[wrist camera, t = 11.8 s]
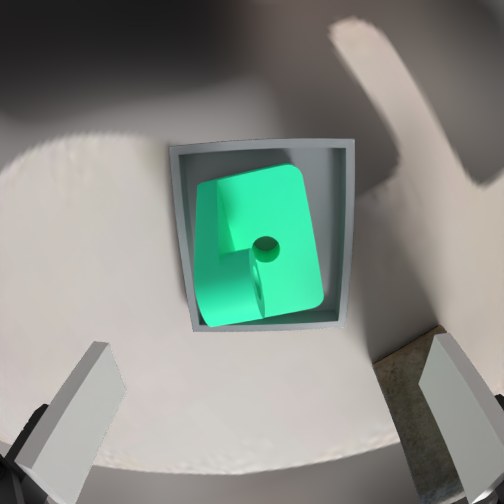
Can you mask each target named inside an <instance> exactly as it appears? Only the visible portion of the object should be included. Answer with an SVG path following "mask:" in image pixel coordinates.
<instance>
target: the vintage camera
mask: <svg viewBox="0 0 504 504" xmlns="http://www.w3.org/2000/svg"><path fill="white" fill-rule="evenodd" d="M443 333H447V331H446V330H445V329H444V327H443V326H441V325H439V326H437V327H436V328H434V329H432V330H431V331H429V332H427V333H426V334H424V335H423V336H421V337H419V338H418V339H416V340H414V341H413V342H411V343H409V344H408V345H406V346H404V347H403V348H401V349H399V350H398V351H396V352H394V353H392V354H391V355H389V356H387V357H385V358H384V359H382V360H380V361H378V362H377V363H375V364H373V365H372V367H373V370H374V372H375V375H376V377H377V380H378V383H379V385H380V388H381V390H382V393H383V395H384V398H385V400H386V403H387V405H388V408H389V411H390V414H391V416H392V419H393V422H394V424H395V427H396V430H397V432H398V435H399V438H400V441H401V444H402V447H403V450H404V453H405V457H406V460H407V463H408V466H409V470H410V473H411V475H412V479H413V481H414V484H415V488H416V491H417V494H418V496H419V499H420V502H421V504H455V503H456V501H457V500H459V499H461V498H463V497H465V496H466V493H465V491H464V488H463V485H462V483H461V480H460V477H459V475H458V472H457V470H456V467H455V465H454V462H453V460H452V457H451V455H450V452H449V450H448V448H447V445H446V443H445V440H444V438H443V436H442V434H441V431H440V429H439V427H438V424H437V422H436V420H435V418H434V416H433V413H432V411H431V409H430V407H429V405H428V403H427V401H426V398H425V396H424V394H423V392H422V390H421V388H420V386H419V381H420V378H421V376H422V373H423V370H424V367H425V364H426V361H427V358H428V355H429V352H430V349H431V345H432V342H433V339H434V335H437V334H443Z"/></svg>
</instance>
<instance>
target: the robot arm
mask: <svg viewBox="0 0 504 504" xmlns="http://www.w3.org/2000/svg"><path fill="white" fill-rule="evenodd" d="M419 386H420V388H421V390H422V392H423V394H424V396H425V398H426V401H427V403H428V405H429V407H430V409H431V411H432V413H433V416H434V418H435V420H436V422H437V424H438V427H439V429H440V431H441V434H442V436H443V438H444V440H445V443H446V445H447V448H448V450H449V452H450V455H451V457H452V460H453V462H454V465H455V467H456V470H457V472H458V475H459V477H460V480H461V483H462V485H463V488H464V491H465V493H466V496H467V499H468V502H469V504H472V503H475V502H477V501H479V500H481V499H483V498H486V497H487V496H488V495H489V494H490V493H491V492H492V491H493V490H494V489H495V490H496V492H497V495H495V496H494V497H493V498H492V499H491V500H490V501H489V502H488V503H487V504H504V396H502V395H501V394H498V395H495V396H494V395H493V394H492V392H491V390H490V389H489V387H488V386H487V384H486V383H485V381H484V380H483V378H482V377H481V376H480V374H479V373H478V371H477V370H476V368H475V367H474V365H473V364H472V363H471V361H470V360H469V358H468V357H467V355H466V354H465V353H464V351H463V350H462V349H461V347H460V346H459V344H458V343H457V342H456V340H455V339H454V338H453V336H452V335H451V334H450V332H449V333H443V334H437V335H434V339H433V342H432V345H431V349H430V352H429V355H428V358H427V361H426V364H425V367H424V370H423V373H422V376H421V378H420V381H419ZM126 391H127V389H126V387H125V384H124V382H123V379H122V377H121V374H120V372H119V369H118V366H117V364H116V361H115V358H114V356H113V353H112V350H111V347H110V344H109V343H106V342H96V341H94V342H93V343H92V345H91V346H90V347H89V349H88V350H87V352H86V353H85V354H84V356H83V357H82V358H81V360H80V361H79V363H78V364H77V365H76V367H75V368H74V370H73V371H72V373H71V374H70V375H69V377H68V378H67V380H66V381H65V383H64V384H63V385H62V387H61V388H60V390H59V391H58V393H57V394H56V396H55V397H54V399H53V400H52V402H51V403H50V405H47V404H43V405H42V406H41V407H39V408H38V409H37V410H35V411H34V413H33V414H32V416H31V417H30V419H29V420H28V423H26V425H25V426H24V428H23V429H24V430H22V431H21V433H20V434H19V436H18V437H17V439H16V440H15V442H14V444H13V445H12V447H11V448H10V450H9V452H8V453H7V455H6V456H5V458H3V457H2V455H1V454H0V504H49V503H48V501H47V500H46V498H47V496H48V495H49V496H50V497H51V498H52V499H53V500H54V501H56V502H57V503H59V504H75V503H76V500H77V498H78V496H79V494H80V491H81V489H82V486H83V484H84V482H85V479H86V477H87V475H88V473H89V470H90V468H91V466H92V464H93V461H94V459H95V457H96V455H97V452H98V450H99V448H100V446H101V444H102V441H103V439H104V437H105V435H106V433H107V431H108V429H109V426H110V424H111V422H112V420H113V418H114V416H115V414H116V412H117V410H118V407H119V405H120V403H121V401H122V399H123V397H124V395H125V393H126Z"/></svg>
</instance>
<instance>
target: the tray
mask: <svg viewBox="0 0 504 504" xmlns="http://www.w3.org/2000/svg"><path fill="white" fill-rule="evenodd" d="M169 155H170V166H171V177H172V187H173V196H174V206H175V214H176V223H177V231H178V238H179V246H180V253H181V260H182V267H183V274H184V281H185V287H186V293H187V300H188V306H189V312H190V317H191V323H192V329H193V332H248V331H283V330H306V329H323V328H338V327H345V324H346V315H347V306H348V296H349V285H350V274H351V260H352V245H353V226H354V197H355V140H354V139H339V138H284V139H255V140H238V141H224V142H223V141H222V142H210V143H199V144H189V145H179V146H172V147H169ZM283 163H290V164H293V165H294V166H296V167H297V168H298V169H299V170H300V172H301V173H302V176H303V181H304V186H305V191H306V196H307V201H308V206H309V211H310V217H311V222H312V227H313V233H314V239H315V244H316V250H317V256H318V262H319V268H320V274H321V281H322V287H323V294H324V298H323V301H322V303H321V304H320V305H319V306H317V307H315V308H312V309H307V310H302V311H297V312H292V313H286V314H281V315H276V316H271V317H265V318H263V319H257V320H251V321H246V322H240V323H234V324H228V325H221V326H215V327H210V326H209V325H208V324H207V323H206V322H205V320H204V318H203V316H202V314H201V312H200V309H199V306H198V302H197V298H196V293H195V286H194V250H195V222H196V200H197V186H198V185H199V184H200V183H202V182H206V181H209V180H213V179H217V178H221V177H225V176H230V175H234V174H238V173H242V172H246V171H251V170H255V169H260V168H264V167H269V166H273V165H278V164H283ZM254 244H255V246H256V247H257V248H258V249H260V250H263V251H269V250H272V249H273V248H275V247H276V246H277V244H278V242H277V240H275V239H274V238H272V237H269V236H262V237H260V238H258V239H256V240H255V242H254Z"/></svg>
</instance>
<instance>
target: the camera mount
mask: <svg viewBox="0 0 504 504" xmlns="http://www.w3.org/2000/svg"><path fill="white" fill-rule="evenodd" d="M262 236H269V237H272V238H274V239H275V240H277V242H278V244H277V246H276V247H275V248H273V249H272V250H269V251H263V250H260V249H258V248H257V247H256V246H255V244H254V242H255V240H256V239H258V238H260V237H262ZM194 286H195V293H196V298H197V302H198V306H199V309H200V312H201V314H202V316H203V318H204V320H205V322H206V323H207V324H208V325H209V326H210V327H215V326H221V325H228V324H234V323H240V322H246V321H251V320H257V319H263V318H265V317H271V316H276V315H281V314H286V313H292V312H297V311H302V310H307V309H312V308H315V307H317V306H319V305H320V304H321V303H322V301H323V298H324V294H323V287H322V281H321V274H320V268H319V262H318V256H317V250H316V244H315V239H314V233H313V227H312V222H311V217H310V211H309V206H308V201H307V196H306V191H305V186H304V181H303V176H302V173H301V172H300V170H299V169H298V168H297V167H296V166H294V165H293V164H290V163H283V164H278V165H273V166H269V167H264V168H260V169H255V170H251V171H246V172H242V173H238V174H234V175H230V176H225V177H221V178H217V179H213V180H209V181H206V182H202V183H200V184H199V185H198V186H197V200H196V222H195V250H194Z"/></svg>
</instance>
